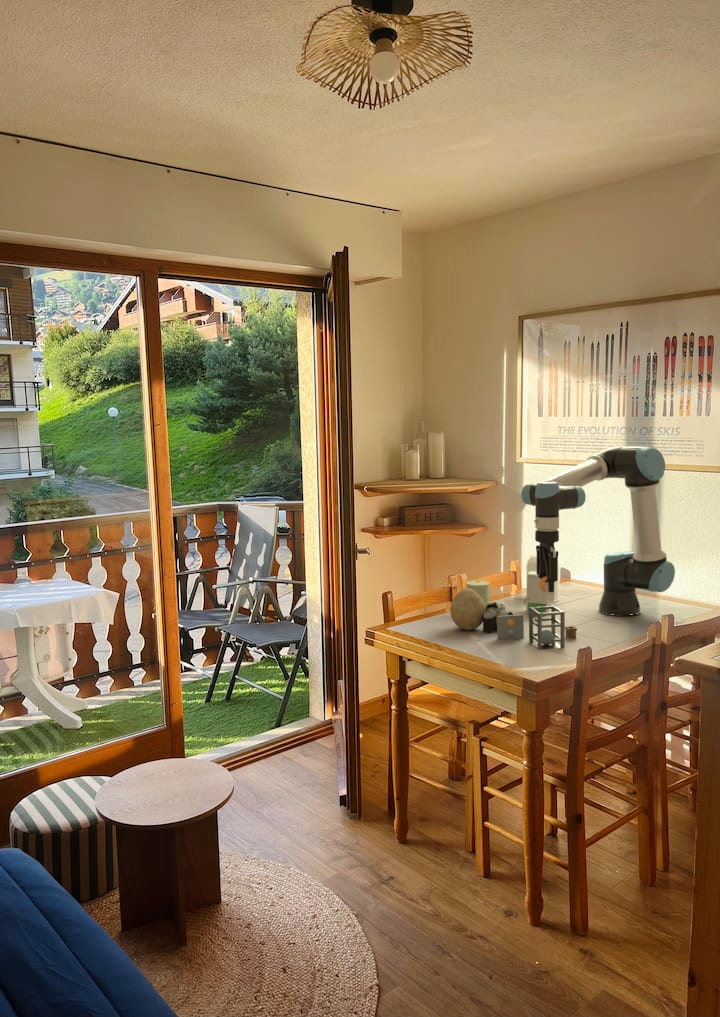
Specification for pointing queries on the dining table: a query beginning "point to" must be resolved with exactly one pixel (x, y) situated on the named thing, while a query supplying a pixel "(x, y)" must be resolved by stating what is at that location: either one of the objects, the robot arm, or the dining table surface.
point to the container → (533, 567)
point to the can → (481, 589)
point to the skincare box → (535, 593)
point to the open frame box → (560, 624)
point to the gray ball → (547, 636)
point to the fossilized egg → (467, 609)
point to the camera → (493, 616)
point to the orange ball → (543, 584)
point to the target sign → (510, 627)
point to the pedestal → (571, 632)
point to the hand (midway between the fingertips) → (546, 599)
